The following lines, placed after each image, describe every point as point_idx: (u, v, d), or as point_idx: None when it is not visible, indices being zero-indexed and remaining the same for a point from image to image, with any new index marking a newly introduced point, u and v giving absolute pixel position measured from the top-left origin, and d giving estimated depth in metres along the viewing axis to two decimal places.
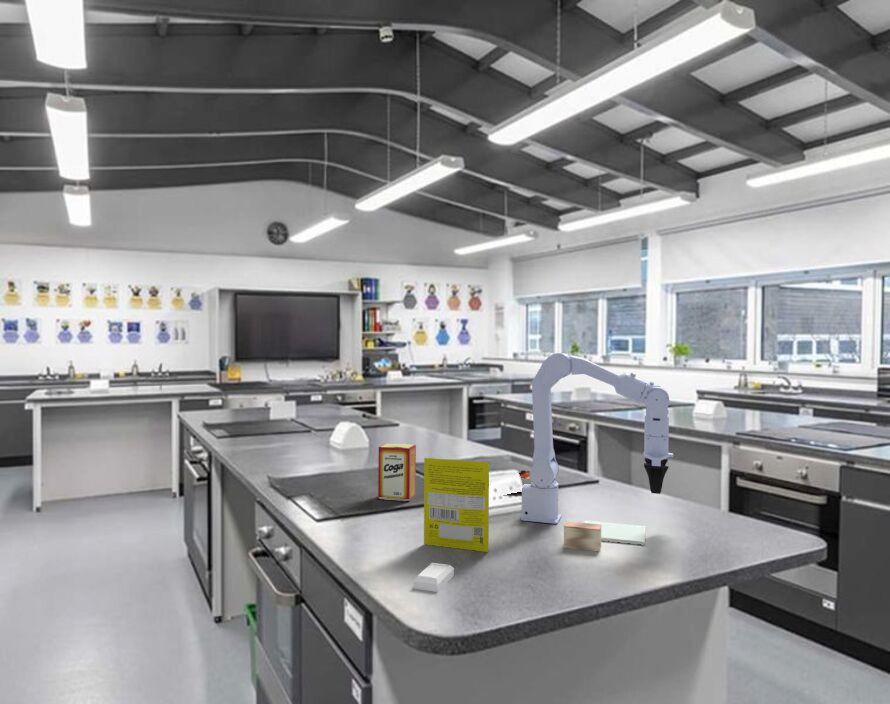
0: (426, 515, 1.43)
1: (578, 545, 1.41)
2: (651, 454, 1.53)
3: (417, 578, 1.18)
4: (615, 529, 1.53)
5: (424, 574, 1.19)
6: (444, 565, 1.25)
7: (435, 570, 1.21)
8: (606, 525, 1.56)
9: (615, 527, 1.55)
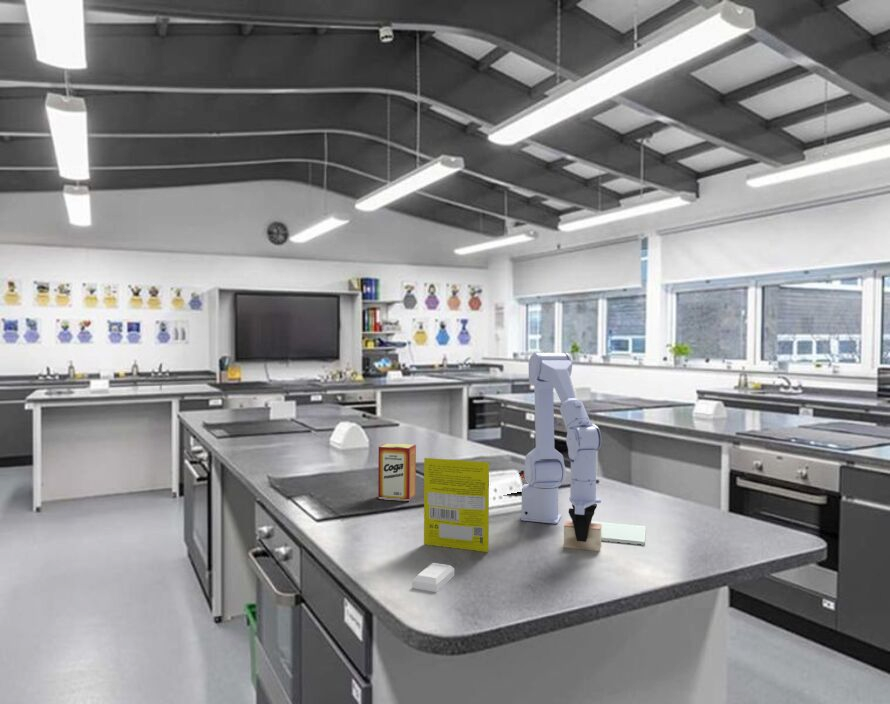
0: (426, 515, 1.43)
1: (578, 544, 1.41)
2: (576, 500, 1.40)
3: (416, 578, 1.18)
4: (615, 529, 1.53)
5: (423, 574, 1.19)
6: (444, 565, 1.24)
7: (435, 570, 1.21)
8: (606, 525, 1.56)
9: (615, 527, 1.55)
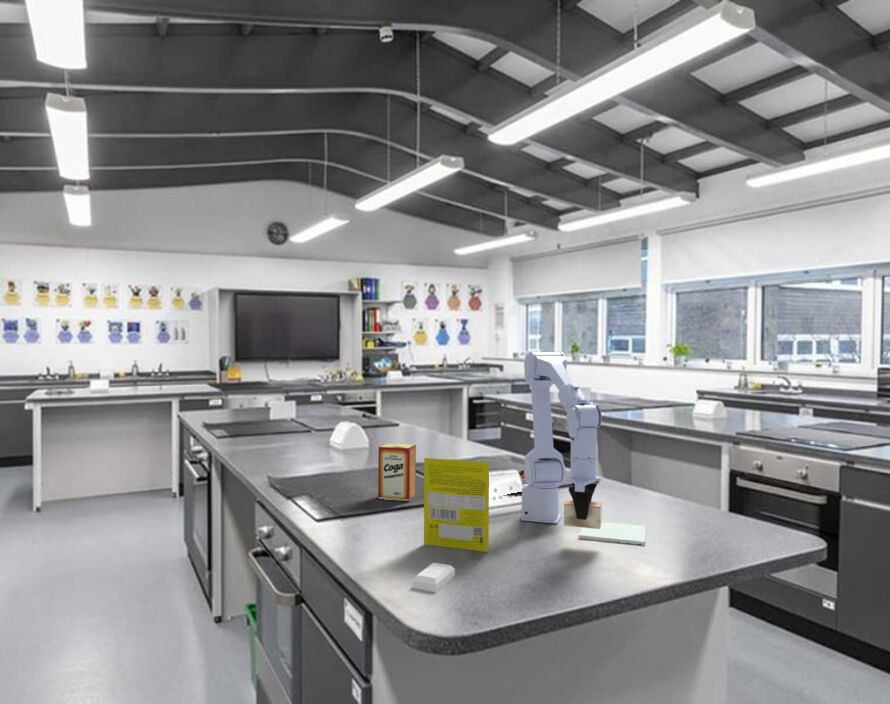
0: (426, 516, 1.43)
1: (578, 523, 1.41)
2: (576, 478, 1.40)
3: (416, 578, 1.18)
4: (615, 529, 1.53)
5: (423, 574, 1.19)
6: (445, 565, 1.24)
7: (435, 570, 1.21)
8: (606, 525, 1.56)
9: (615, 527, 1.55)
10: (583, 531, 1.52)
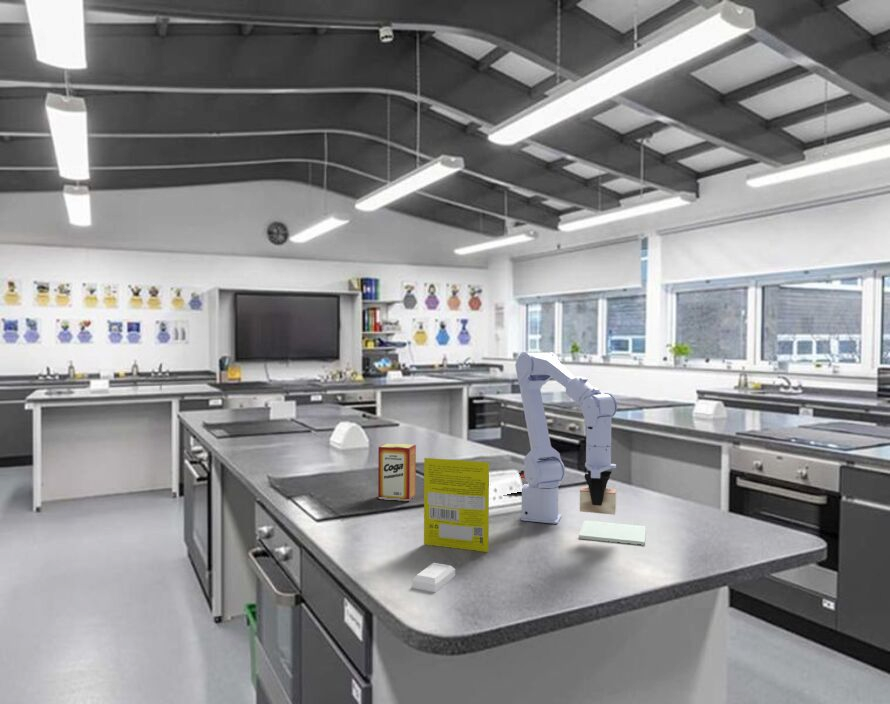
0: (426, 515, 1.43)
1: (593, 508, 1.46)
2: (592, 465, 1.45)
3: (416, 577, 1.18)
4: (615, 529, 1.53)
5: (423, 574, 1.19)
6: (445, 565, 1.24)
7: (435, 570, 1.21)
8: (606, 525, 1.56)
9: (615, 527, 1.55)
10: (583, 531, 1.52)
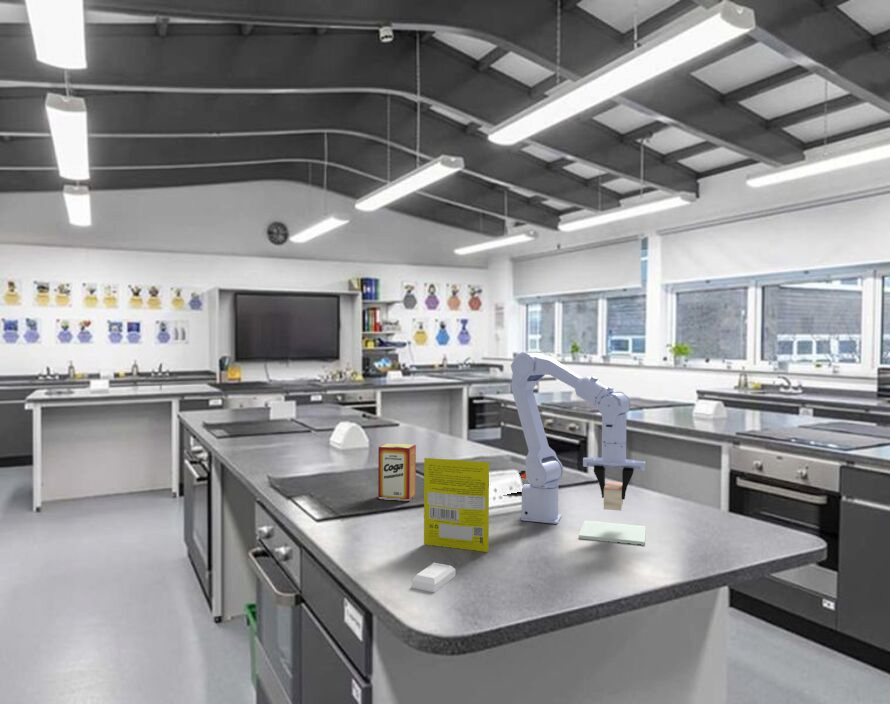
0: (426, 515, 1.43)
1: None
2: None
3: (415, 577, 1.19)
4: (615, 529, 1.53)
5: (422, 574, 1.19)
6: (445, 566, 1.24)
7: (435, 570, 1.21)
8: (606, 525, 1.56)
9: (615, 527, 1.55)
10: (583, 531, 1.52)
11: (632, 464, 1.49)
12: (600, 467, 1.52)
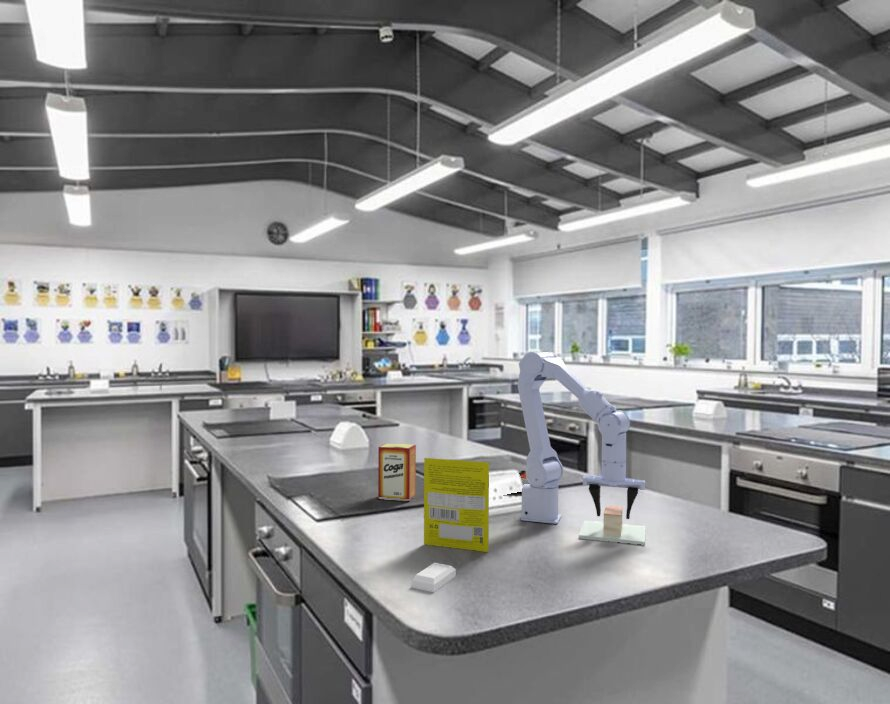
0: (426, 515, 1.43)
1: None
2: (602, 477, 1.54)
3: (415, 577, 1.19)
4: None
5: (422, 574, 1.19)
6: (446, 566, 1.24)
7: (435, 570, 1.21)
8: None
9: None
10: (583, 531, 1.52)
11: (632, 483, 1.49)
12: (600, 486, 1.52)
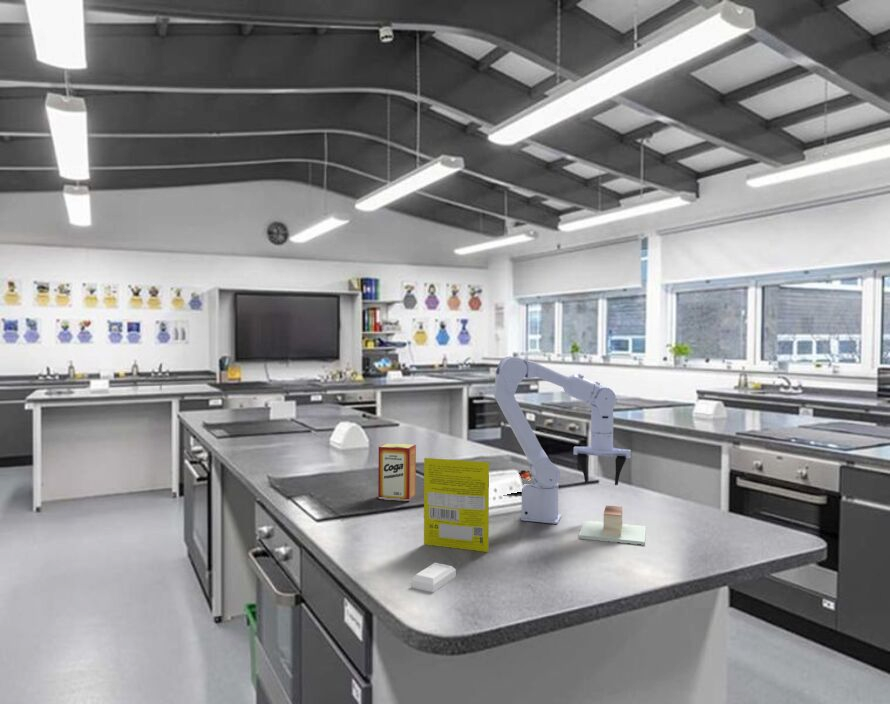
0: (426, 516, 1.43)
1: None
2: None
3: (415, 577, 1.19)
4: None
5: (422, 574, 1.19)
6: (446, 566, 1.24)
7: (435, 570, 1.21)
8: None
9: None
10: (583, 531, 1.52)
11: (618, 452, 1.62)
12: None
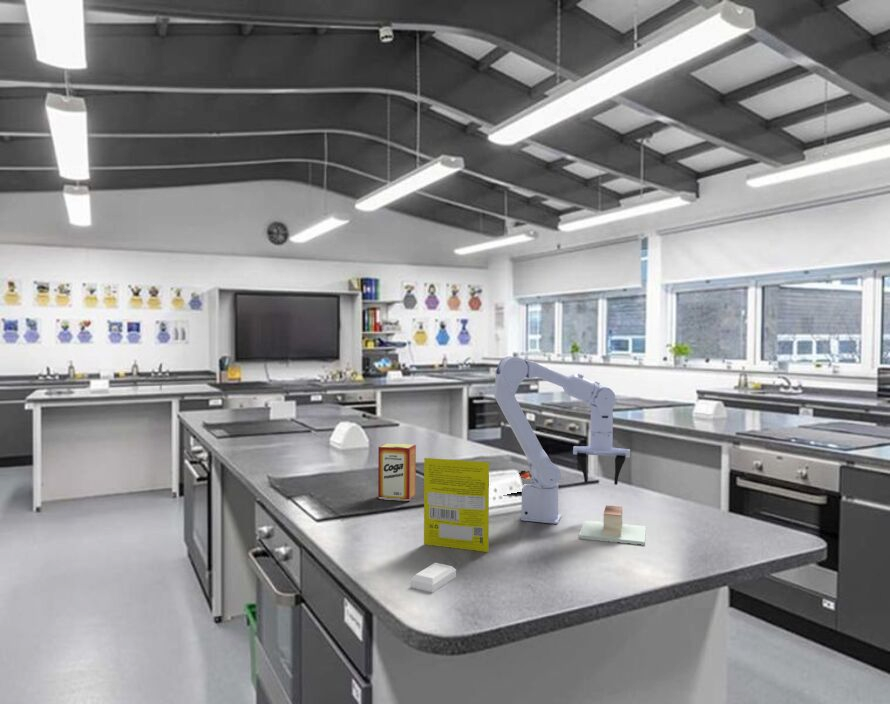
0: (426, 516, 1.43)
1: None
2: None
3: (414, 577, 1.19)
4: None
5: (422, 574, 1.19)
6: (446, 566, 1.24)
7: (434, 570, 1.21)
8: None
9: None
10: (583, 531, 1.52)
11: (618, 452, 1.63)
12: None
